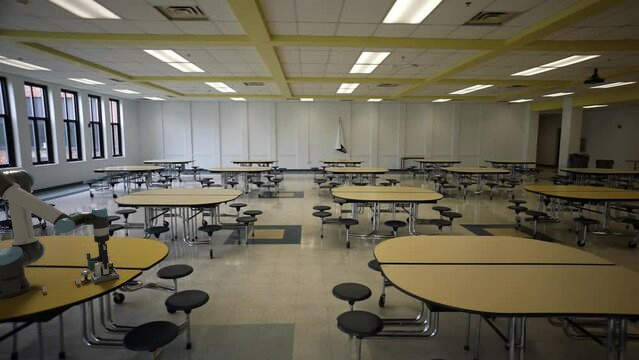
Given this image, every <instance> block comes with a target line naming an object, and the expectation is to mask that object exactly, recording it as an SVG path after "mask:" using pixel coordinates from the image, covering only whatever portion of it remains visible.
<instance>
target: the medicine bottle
mask: <svg viewBox="0 0 639 360" xmlns="http://www.w3.org/2000/svg"><path fill="white" fill-rule="evenodd" d="M96 257H97V262H98V263H96V264H95V269H94V273H95V275H96V276H99V277H101V278H102V277H105V276H108V275H112V274H114V268H115V267H114V262H112V261H110V260H111V259H110V258H111V257H110V254H108V261H109V263H108V269H109V274H105V275H103V266H102V264H101V263H103V261H102V255H99V254H98V256H96Z"/></svg>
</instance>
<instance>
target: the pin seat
mask: <svg viewBox="0 0 639 360" xmlns="http://www.w3.org/2000/svg"><path fill="white" fill-rule="evenodd" d="M74 282H75V284H76V288H77V287H78V286H79V287H81V285H82V284H81V283H82V282H81V280H80V279H79V277H76V278H74ZM42 292H43V296H44V295H47V294H48V289H47V285H46V284H45V285H42Z"/></svg>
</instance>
